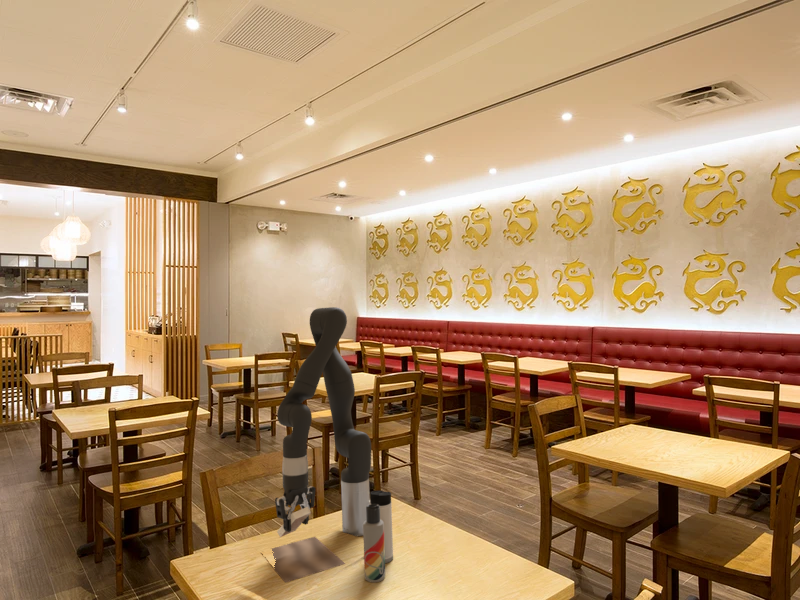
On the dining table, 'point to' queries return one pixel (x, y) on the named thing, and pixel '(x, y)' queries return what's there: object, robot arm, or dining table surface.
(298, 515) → the tile
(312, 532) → the dining table surface
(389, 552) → the travel mug
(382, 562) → the lotion bottle
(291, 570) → the cloth
